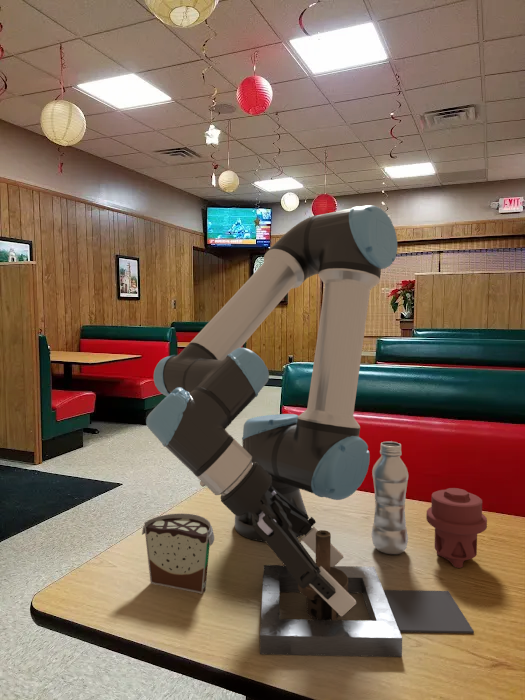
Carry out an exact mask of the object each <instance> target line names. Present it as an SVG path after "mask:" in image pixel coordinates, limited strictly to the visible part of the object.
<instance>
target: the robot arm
mask: <svg viewBox="0 0 525 700" xmlns="http://www.w3.org/2000/svg"><path fill="white" fill-rule="evenodd" d="M397 253H398V237H397V233H396V228H395V227H394V225H393V221H392V220H391V218H390V217H389V215H388V214H387V213H386V211H384V210H383V209H382V208H381V207H379V206H377V205H371V204H370V205H362V206H360V205H359V206H358V205H356V206H352V207H351V208H348V209H341V210H338V211H333V212H329V213H328V212H327V213H323V214H316V215H312V216H310V217H307V218H304V219H303V220H302V221H300V222H298V223H297V224H295V225H294V226H293V227H291V228H290V229H289V230H288V231H287V232H285V233H284V235H283V236H281V237H280V238H279V239H278V240H277V241H275V243H274V244H273V245H272V246H271V247H270V249H269V250H267V251H266V252H265V254H264V256H263V263H262V265H260V267H258V269H257V270H255V272H254V273H253V274H252V275H251V276H250V277H249V278H248V279H247V280H246V282H245V283H244V284H242V286H241V287H240V288H239V289H238V290H237V291H236V292H235V294H234V295H233V296H232V297H230V299H229V300H228V301H227V302H226V303H225V304H224V305H223V307H221V308H220V309H219V310H218V312H217V313H216V314H215V315H214V316H213V317H212V318H211V319H210V320H209V321H208V323H207V324H205V326H204V327H203V328H202V329H201V330H200V331H199V332H198V333H197V335H195V337H194V338H192V340H191V341H190V342H189V343H188V344H187V345H186V346H185V347H184V348H183V350H181V351H180V353H179V354H172V355H168V356H166V357H163V358H162V359H160V360H159V362H158V363H157V364H156V366H155V368H154V371H153V382H154V383H153V384H154V385H155V387H156V389H157V391H158V392H160V394H162V395H163V396H165V397H164V398H163V399H162V400H161V401H160V402H159V403H158V404H157V405H156V406H155V407H154V408H153V409H152V410H151V411H150V412H149V414H148V415H147V416H146V419H145V423H146V426H147V428H148V429H149V430H150V432H151V433H152V434H153V435H154V436H155V438H157V440H158V441H159V442H160V443H161V444H162V446H163V447H164V448H166V449H167V450H168V451H169V452H170V453H172V455H174V456H175V457H176V458H177V459H178V460H179V462H181V463H182V464H183V465H184V466H185V467H186V468H187V469H188V470H189V471H190V472H191V473H193V475H195V477H196V478H197V479H198V480H199V486H201V487H207V488H208V489H209V491H211V492H212V494H214V495H215V496H220V502H221V503H222V504H223V505H224V506H225V507H226V508H227V509H228V510H230V511H231V513H232V514H233V515H234V530H235V531H236V532H237V533H238V534H239V535H241V536H242V537H245V538H246V539H249V540H253V541H258V542H265V543H267V544H266V545H268V546H269V548H270V549H271V550H272V551H273V553H274V554H275V555H276V556H277V558H278V559H279V561H280V562H281V563H282V564H283V565H285V566H286V568H287V569H288V570H289V572H290V573H291V574H292V575H293V577H294V578H295V579H296V580H297V582H298V583H299V586H300V587H301V588H306V587H307V586H308V585H310V586H311V587H312V588H313V589H314V590H315V591H316V592H317V593H318V594H319V595H320V596H321V597H322V598H323V599H324V600H325V601H326V602H327V603H328V604H329V605H330V606H331V607H332V608H333V609H334V610H335V611H336V612H337V613H338V614H339V615H338V616H340V617H341V618H342V617H343V616H345V615H346V614H347V612H349V610H351V609H353V607H354V606H355V605H356V604H357V601H356V600H357V599H355V598H354V597H353V596H352V595H351V593H348V592H347V591H346V590H345V589H344V588H343V587H342V586H341V585H340V584H339V583H338V582H337V581H336V580H335V579H334V578H333V577H332V576H331V575H330V574H329V573H328V572H327V571H326V570H325V569H324V568H323V567H322V566H320V567H318V566H317V564H316V561H315V560H314V559H313V558H312V556H311V554H310V553H309V552H308V550H307V549H306V548H305V547H304V545H303V544H302V543H304V544H305V545H307V547H308V548H309V549H310V550H311V551H312V552H313V553H314V554H315V555H316V532H317V531H319V530H318V529H317V528H316V527H315V526H314V525H316V523H317V522H316V519H314V517H313V516H311V517H309V515H308V512H307V508H306V506H305V503H304V500H303V497H302V494H301V490H302V491H305V492H309V493H311V494H313V495H315V496H316V497H319V498H326V499H331V500H335V501H340V500H346V498H349V497H350V496H352V495H353V494H355V492H356V491H357V490H358V488H360V487H361V485H362V483H363V482H364V481H365V478H366V475H367V474H368V470H369V465H370V462H371V461H370V459H371V458H370V457H371V454H370V451H369V450H368V449H369V445H368V443H367V442H366V441H365V440H364V439H363V438H361V437H360V431H361V426H360V423H358V421H357V420H356V419H355V416H354V412H355V406H356V405H355V404H356V397H357V389H358V382H359V374H360V368H361V360H362V353H363V347H364V346H363V344H364V339H365V331H366V322H367V315H368V310H369V308H368V307H369V301H370V300H369V299H370V295H371V294H370V292H371V290H372V289H373V288H374V287H376V286H377V285H378V284H380V281H381V274H382V273H381V272H382V270H383V269H387V268H389V267H390V266H392V265H393V263H394V261H395V260H396V258H397ZM315 275H318V277H319V278H320V280H321V281H322V283H323V284H324V288H323V289H324V290H323V295H322V301H321V302H322V303H321V309H320V317H319V323H318V330H317V337H316V343H315V344H316V345H315V352H314V359H313V365H312V366H313V367H312V374H311V380H310V385H309V393H308V400H307V406H306V407H307V408H306V410H305V411H303V412H302V413H300V414H299V415H298V414H294V413H281V414H280V413H279V414H268V415H261V416H254V417H251V418H248V419H247V420H246V421H245V422H244V424H243V429H242V430H243V432H242V437H241V440H242V445H241V444H240V443H239V442H238V441H237V440H236V439H235V438H234V437H233V436H232V435H231V434H229V432H228V431H227V428H228V427H229V426H230V425H231V424H232V422H233V421H234V420H235V419H237V417H239V415H240V414H241V413H242V412H243V410H245V409H246V408H247V407H248V406H249V404H251V402H253V400H255V398H257V397H258V396H259V393H260V392H261V390H262V389H263V388H264V387H265V386H266V384H268V381H269V378H270V373H269V372H270V371H269V368H268V367H267V365H266V364H265V361H264V360H263V359H262V358H261V357H260V356H259V355H258V354H257V353H256V352H255V351H253V350H251V349H249V348H246V347H243V346H244V344H246V342H247V341H248V340H249V339H250V338H251V336H252V335H253V334H254V332H256V331H257V329H258V328H259V327H260V326H261V325H262V323H263V322H264V321H265V320H266V319H267V317H268V316H270V314H271V313H272V312H273V311H274V310H275V308H276V307H277V306H278V305H279V303H280V302H281V301H282V300H283V299H284V298H285V297H286V295H287V294H288V293H289V292H290V291H291V289H296V288H299V287H300V286H302V284H304V282H305V281H306V280H307V279H308V278H311V277H313V276H315ZM299 537H302V538H301V541H302V542H301V541H300V540H299ZM330 545H331V547H330V567H334V566H337V565H338V564H339V563H340V562H341V561H342V560H343V559H344V555H343V554H342V552H340V551H339V550H338V549H337V547H335V546H334V544H332V543H331V544H330ZM306 571H307V572H306ZM305 572H306V573H305Z"/></svg>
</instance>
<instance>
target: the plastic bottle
mask: <svg viewBox="0 0 525 700" xmlns="http://www.w3.org/2000/svg"><path fill="white" fill-rule="evenodd" d="M379 454H380V457H379V458H378V459H377V460H376V462H375V463H374V464H373V467H372V470H371V471H372V472H371V473H372V479H373V488H374V500H375V501H374V503H375V504H374V517H373V523H372V529H371V540H372V544H373V546H374V548H375V549H376V550H377V551H379V552H380V553H383V554H387V555H401V554H402V553H404V551H406V549H407V548H408V543H409V535H408V534H409V533H408V529H407V523H406V511H405V510H406V509H405V508H406V493H407V487H408V480H409V472H408V467H407V466H406V464H405V463H404V461H403V460H402V458H401V456H402V444H401V443H398V442H397V441H383V442H381V443H380V450H379Z"/></svg>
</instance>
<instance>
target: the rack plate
mask: <svg viewBox="0 0 525 700" xmlns="http://www.w3.org/2000/svg"><path fill="white" fill-rule="evenodd" d="M334 568H337V569H339V570H341V571H342V572H344V573H345V574H346V576H347V577H348V593H349V594H362V596H363V600H364V603H365V606H366V609H367V610H366V611H367V612H368V616H369V620H363V619H362V620H361V619H359V620H352V619H351V620H349V619H347V620H345V619H336V620H330V619H323V620H317V619H302V618H301V619H295V618H294V619H292V618H291V619H290V618H289V619H288V618H284V619H283V618H282V619H281V618H280V617H281V616H280V615H281V614H280V593H300V591H299V589H298V582H297V580H296V579H295V578H294V577H293V575H292V574H291V573H290V572H289V570H288V569H287V568H286V566H285V565H284V564H283V565H282V564H281V565H280V564H278V565H277V564H273V565H272V564H268V565H267V564H264V565H263V573H262V574H263V577H262V593H261V610H260V611H261V612H260V613H261V614H260V631H259V632H260V633H259V652H260V653H259V654H260V655H280V656H281V655H282V656H283V655H287V656H328V657H329V656H330V657H331V656H333V657H334V656H336V657H337V656H339V657H383V658H386V657H387V658H389V657H390V658H391V657H392V658H402V657H403V637H402V634H401V632H400V631H399V628H398V626H397V623H396V621H395V618H394V616H393V613H392V611H391V608H390V606H389V603H388V600H387V598H386V595H385V593H384V590H385V589H384V588H383V585H382V583H381V581H380V578H379V576H378V573H377V570H376V568H375V566H357V565H355V566H354V565H353V566H351V565H350V566H349V565H348V566H347V565H345V566H343V565H341V566H340V565H335V566H334Z"/></svg>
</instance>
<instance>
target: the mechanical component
mask: <svg viewBox="0 0 525 700" xmlns="http://www.w3.org/2000/svg"><path fill="white" fill-rule="evenodd" d="M426 521H427V523H428V524H429V525H430V526H431V527H433V528H434V549H435V551H436V554H437V556H439V557H442V558H444V559H445V560H446V561H448V562H450V564H452V566H453V567H454V568H458V569H461V568H463V567H464V562H465V561H468V560H471V559H474V558H476V556H477V553H478V552H477V551H478V534H482V533H483V532H484V531H486V530H487V526H488V519H487V517H486V516H485V515H484V513H483V499H482V498H480V497H479V496H478V495H476V494H473V493H471V492H468V491H467V490H465V489H462V488H457V487H449V488H446V489H440V490H437V491H434V492H432V494H431V506H430V507H429V508H427V510H426Z"/></svg>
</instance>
